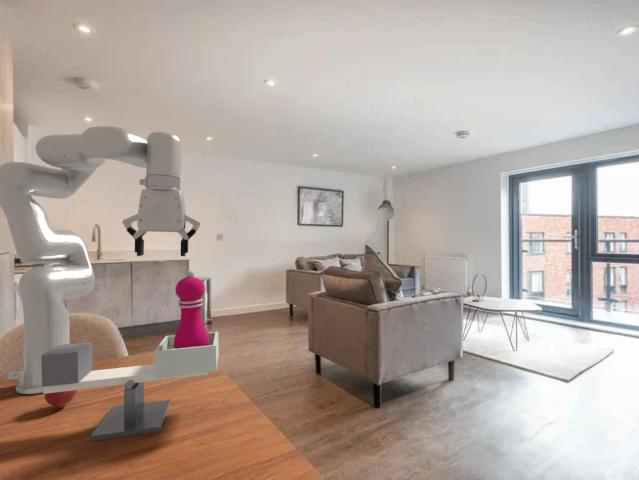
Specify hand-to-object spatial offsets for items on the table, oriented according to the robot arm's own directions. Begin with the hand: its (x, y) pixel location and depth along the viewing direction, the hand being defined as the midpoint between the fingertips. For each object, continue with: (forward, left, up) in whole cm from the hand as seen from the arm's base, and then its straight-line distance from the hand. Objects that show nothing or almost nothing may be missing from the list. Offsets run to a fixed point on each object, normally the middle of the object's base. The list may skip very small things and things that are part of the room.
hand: (161, 255), depth 82 cm
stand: (-4, -10, -34) cm, 36 cm away
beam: (-3, -10, -26) cm, 28 cm away
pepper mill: (+8, -10, -23) cm, 26 cm away
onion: (-22, +1, -35) cm, 41 cm away
